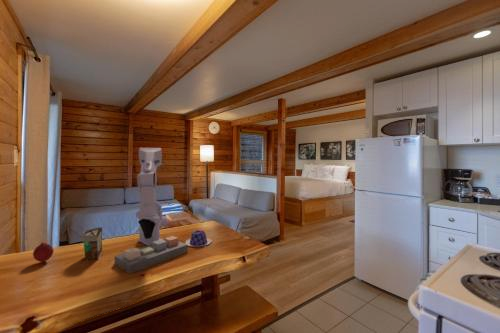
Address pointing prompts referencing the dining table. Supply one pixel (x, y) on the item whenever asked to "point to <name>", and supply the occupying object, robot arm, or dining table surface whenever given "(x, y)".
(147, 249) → the key sage
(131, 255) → the key ivory
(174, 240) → the key terracotta
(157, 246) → the key slate
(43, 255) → the onion
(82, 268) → the dining table surface
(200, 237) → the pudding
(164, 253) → the keypad board
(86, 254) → the food container
